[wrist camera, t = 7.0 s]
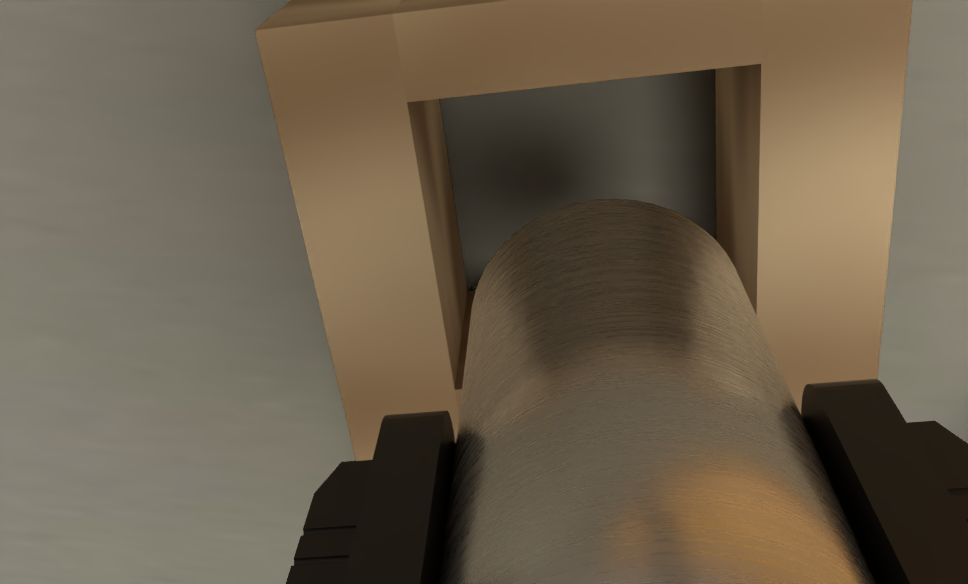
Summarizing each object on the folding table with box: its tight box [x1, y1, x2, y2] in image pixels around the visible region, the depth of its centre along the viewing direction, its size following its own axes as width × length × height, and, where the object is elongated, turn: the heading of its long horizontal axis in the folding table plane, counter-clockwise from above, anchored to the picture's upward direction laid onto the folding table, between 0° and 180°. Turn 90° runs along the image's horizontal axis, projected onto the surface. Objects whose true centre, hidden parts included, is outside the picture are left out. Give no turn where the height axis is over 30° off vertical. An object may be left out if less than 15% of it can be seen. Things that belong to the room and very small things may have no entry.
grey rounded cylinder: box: [439, 199, 876, 584], centre depth 9 cm, size 4×4×10 cm
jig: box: [254, 0, 913, 461], centre depth 19 cm, size 15×10×4 cm, turn 7°
